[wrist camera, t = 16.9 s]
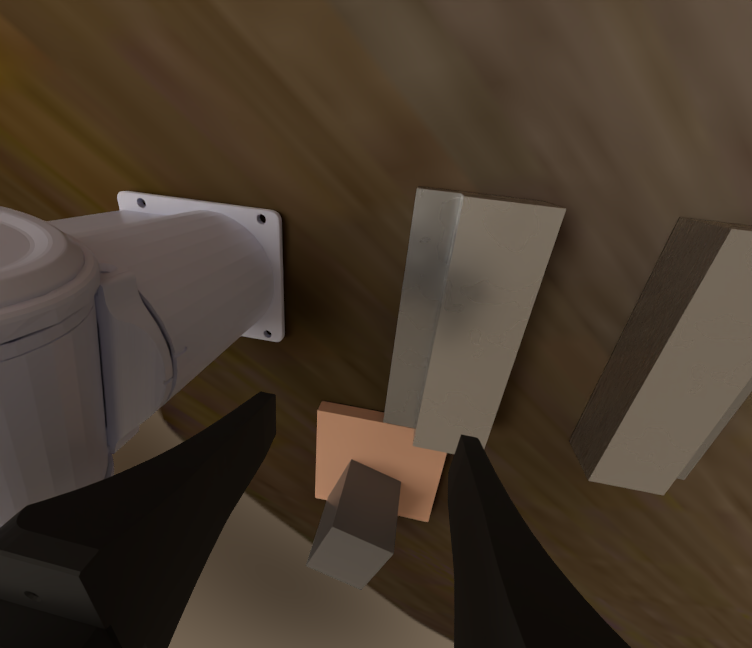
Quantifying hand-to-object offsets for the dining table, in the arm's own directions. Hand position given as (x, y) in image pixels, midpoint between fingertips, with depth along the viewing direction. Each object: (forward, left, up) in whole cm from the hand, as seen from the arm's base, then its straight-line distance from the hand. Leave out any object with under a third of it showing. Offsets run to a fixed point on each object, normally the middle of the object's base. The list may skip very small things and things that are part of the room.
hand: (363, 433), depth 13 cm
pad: (0, -11, -8) cm, 14 cm away
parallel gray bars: (+9, +1, -8) cm, 13 cm away
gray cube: (0, -13, -7) cm, 15 cm away
